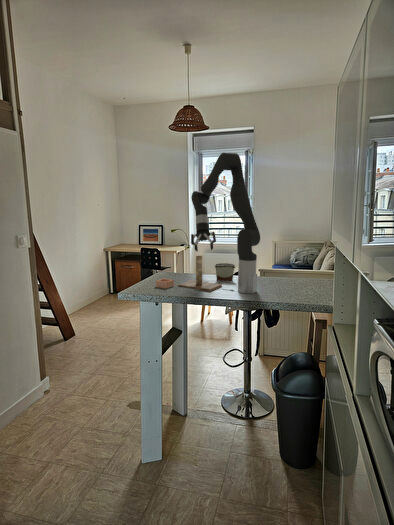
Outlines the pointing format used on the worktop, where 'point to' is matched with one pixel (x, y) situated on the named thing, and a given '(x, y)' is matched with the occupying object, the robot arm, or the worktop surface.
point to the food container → (224, 271)
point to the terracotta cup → (164, 283)
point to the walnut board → (201, 286)
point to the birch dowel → (198, 270)
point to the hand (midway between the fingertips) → (204, 250)
